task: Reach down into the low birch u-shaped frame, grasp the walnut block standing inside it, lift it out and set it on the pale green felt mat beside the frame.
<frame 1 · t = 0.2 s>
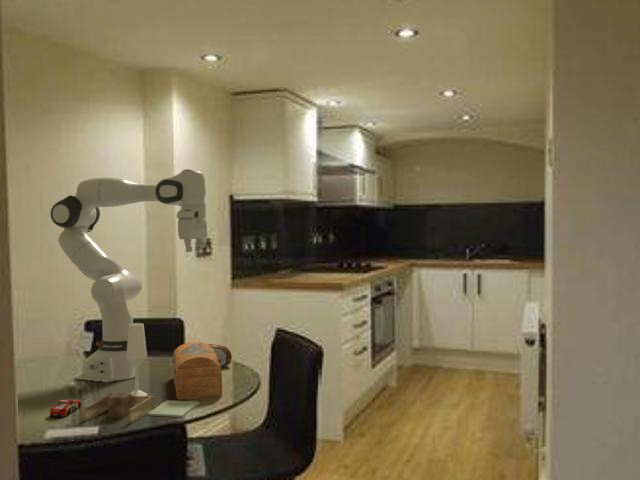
hand: (193, 251, 229), 48 cm above the table, tool pointing down, fingers open, 8 cm apart
race car: (65, 413, 192), on the table
birch u-shaped frame: (120, 414, 188), on the table
tin: (215, 366, 254), on the table
wooden box: (197, 387, 221), on the table
walnut block: (120, 415, 188), on the table
felt mat: (174, 409, 194), on the table
champagne flute: (136, 395, 210), on the table
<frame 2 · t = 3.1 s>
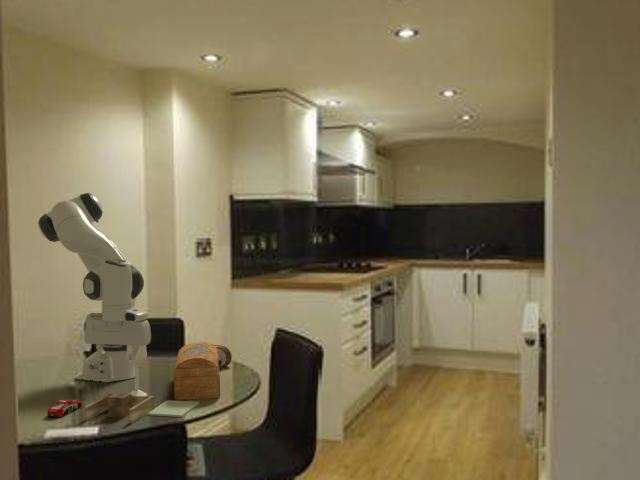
hand: (117, 359, 188), 17 cm above the table, tool pointing down, fingers open, 8 cm apart
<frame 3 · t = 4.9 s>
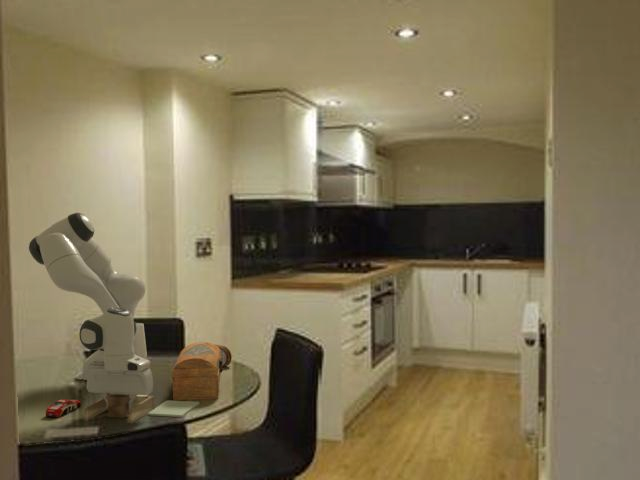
hand: (119, 407, 188), 2 cm above the table, tool pointing down, fingers closed on walnut block, 5 cm apart
walnut block: (120, 414, 188), on the table, touching gripper
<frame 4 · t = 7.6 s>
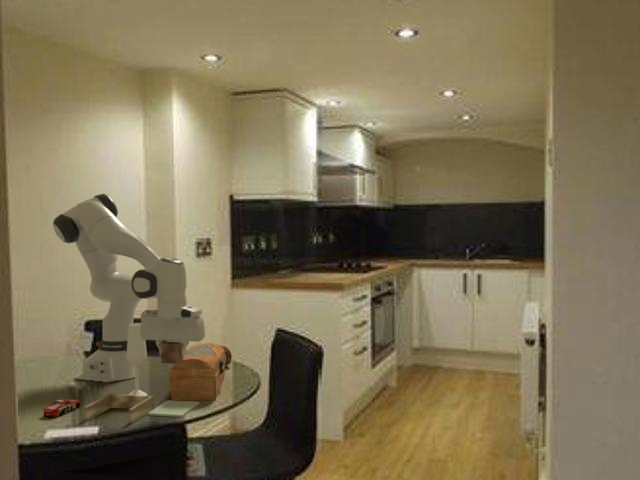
hand: (172, 354, 193), 17 cm above the table, tool pointing down, fingers closed on walnut block, 5 cm apart
walnut block: (172, 361, 193), point 15 cm above the table, touching gripper
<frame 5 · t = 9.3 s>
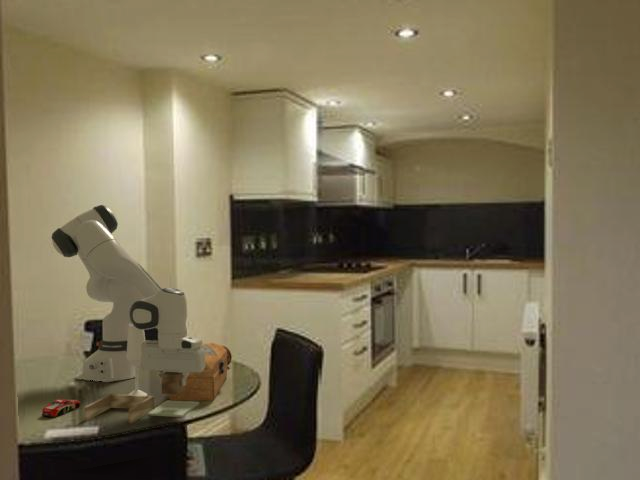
hand: (172, 385, 193), 8 cm above the table, tool pointing down, fingers closed on walnut block, 5 cm apart
walnut block: (172, 391, 193), point 6 cm above the table, touching gripper
when the fingers open (4 cm above the table, at t = 10.6 s): walnut block stays where it is, resting on felt mat.
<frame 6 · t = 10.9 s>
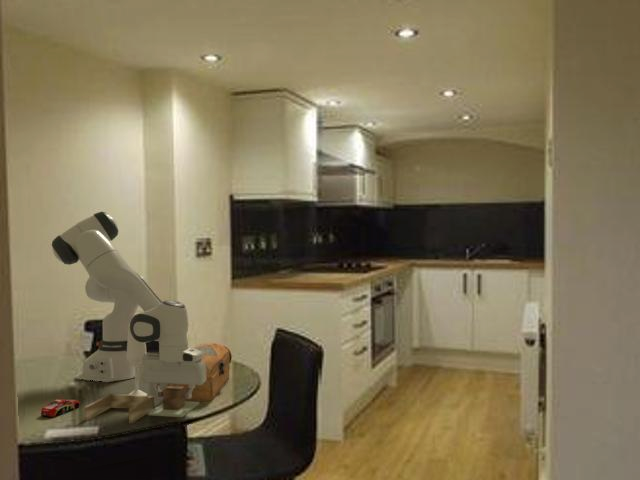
hand: (174, 397, 194), 4 cm above the table, tool pointing down, fingers open, 8 cm apart
walnut block: (174, 407, 194), point 1 cm above the table, touching felt mat
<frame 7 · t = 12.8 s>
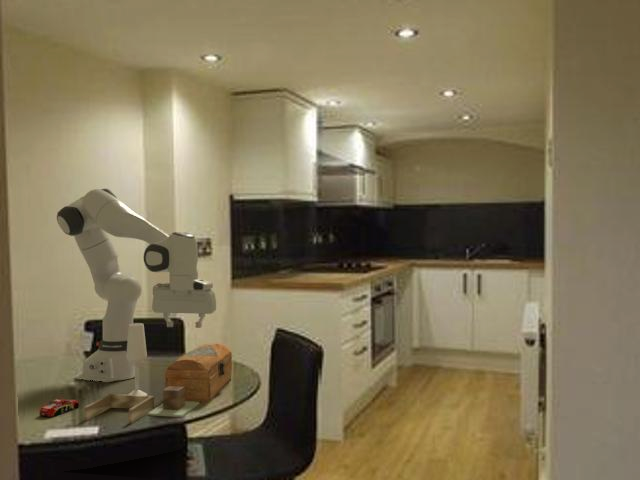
hand: (184, 327, 197), 25 cm above the table, tool pointing down, fingers open, 8 cm apart
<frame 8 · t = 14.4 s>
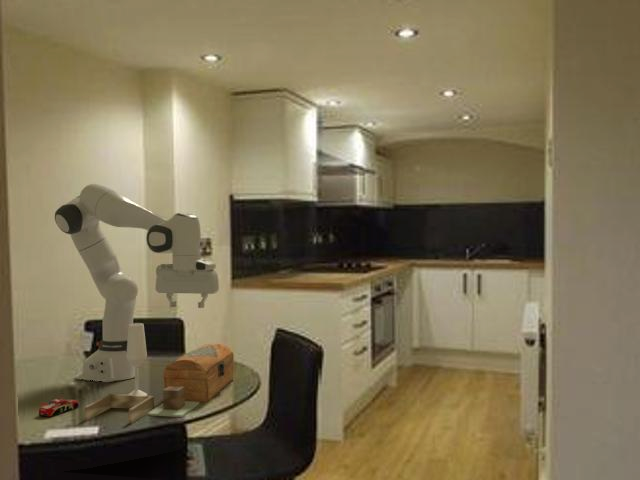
hand: (187, 307, 199), 31 cm above the table, tool pointing down, fingers open, 8 cm apart
at the end: walnut block inside the target area on the felt mat (0.1 cm from its centre), point 0.6 cm above the felt mat's base; the gripper is holding nothing; walnut block moved 16.1 cm from its start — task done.
